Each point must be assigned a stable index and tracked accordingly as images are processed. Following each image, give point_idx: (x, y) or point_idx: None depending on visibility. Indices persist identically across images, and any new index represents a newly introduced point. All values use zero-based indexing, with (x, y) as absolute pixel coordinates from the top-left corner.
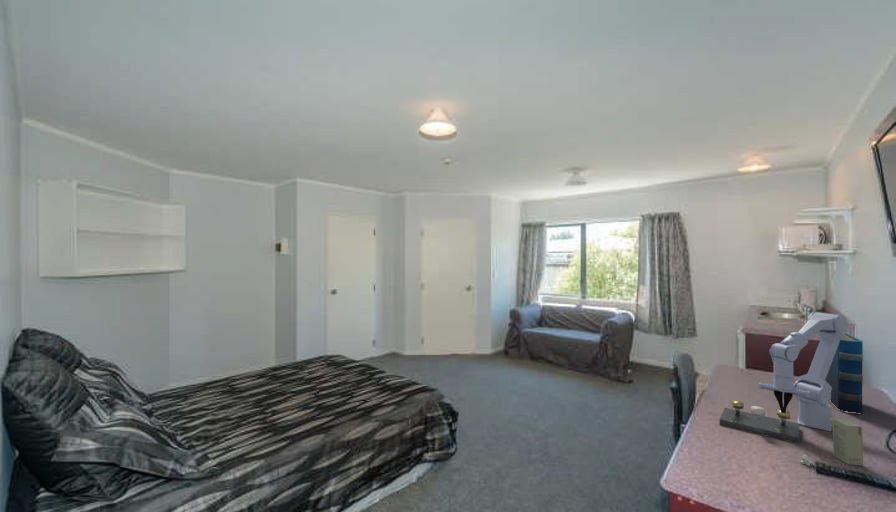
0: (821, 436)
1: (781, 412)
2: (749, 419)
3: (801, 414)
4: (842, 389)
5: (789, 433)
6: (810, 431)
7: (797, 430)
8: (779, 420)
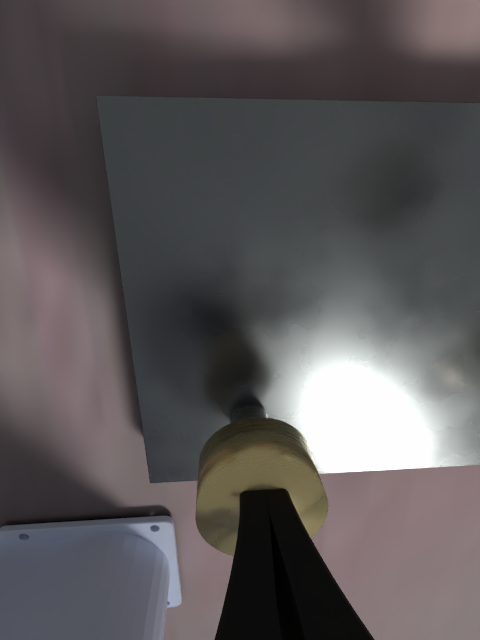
0: (23, 414)
1: (280, 471)
2: None
3: (142, 610)
4: None
5: (191, 171)
6: (95, 455)
7: (140, 324)
8: None
